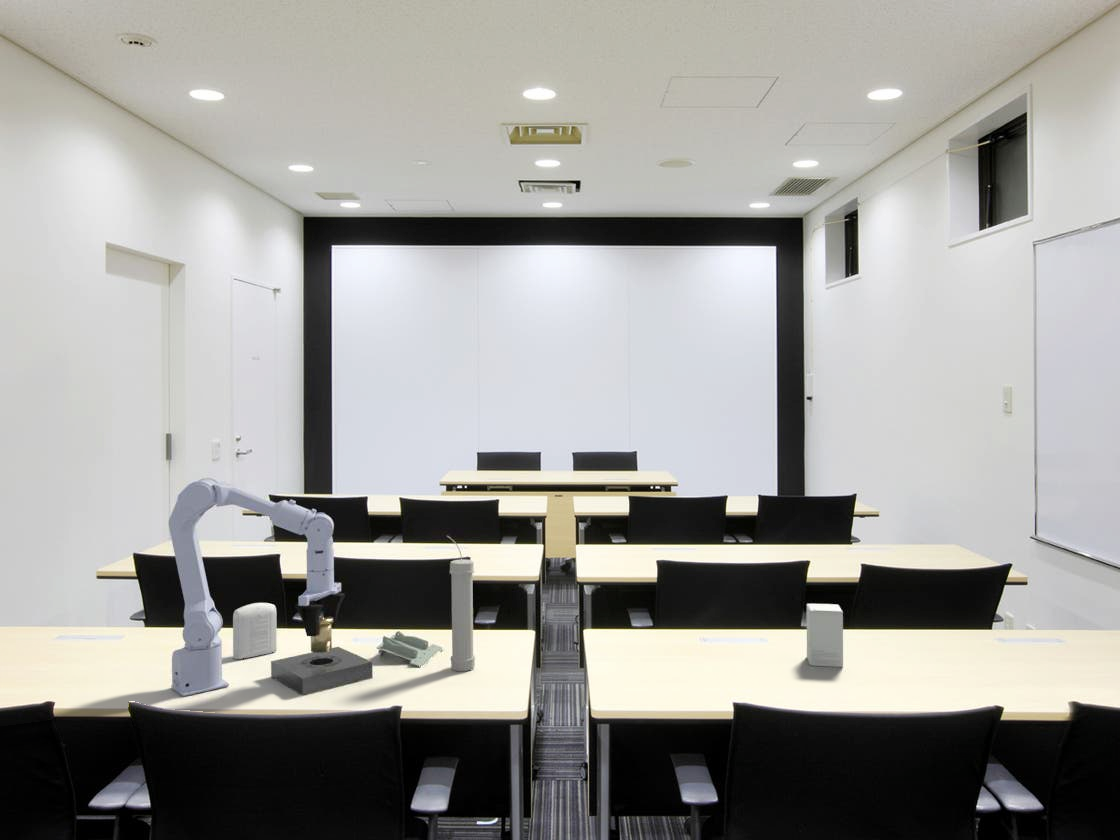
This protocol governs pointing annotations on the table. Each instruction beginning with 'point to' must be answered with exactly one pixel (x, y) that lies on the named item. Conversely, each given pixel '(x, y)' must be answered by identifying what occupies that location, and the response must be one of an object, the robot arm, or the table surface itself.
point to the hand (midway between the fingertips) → (321, 631)
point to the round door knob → (322, 635)
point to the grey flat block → (321, 670)
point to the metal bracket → (408, 648)
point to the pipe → (462, 614)
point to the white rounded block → (254, 630)
